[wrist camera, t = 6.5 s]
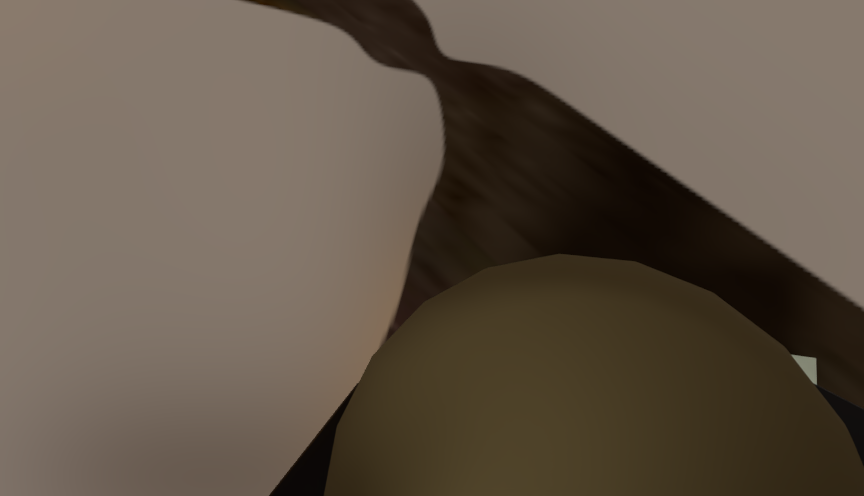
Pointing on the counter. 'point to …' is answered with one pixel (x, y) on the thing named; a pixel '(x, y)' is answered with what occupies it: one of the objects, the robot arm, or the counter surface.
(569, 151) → the counter surface
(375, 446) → the cork
